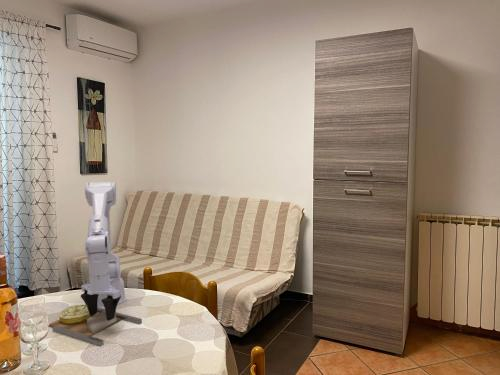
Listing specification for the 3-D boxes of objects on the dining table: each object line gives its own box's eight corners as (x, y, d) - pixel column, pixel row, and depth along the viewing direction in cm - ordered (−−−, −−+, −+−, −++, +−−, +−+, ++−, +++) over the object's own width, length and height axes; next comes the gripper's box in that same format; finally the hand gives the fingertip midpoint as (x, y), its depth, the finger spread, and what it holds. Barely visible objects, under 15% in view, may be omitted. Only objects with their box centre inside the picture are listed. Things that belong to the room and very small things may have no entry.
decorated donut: (96, 311, 127) (95, 300, 126) (93, 324, 117) (93, 312, 116) (62, 315, 124) (62, 304, 123) (57, 329, 113) (56, 317, 113)
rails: (96, 311, 126) (96, 307, 126) (142, 323, 117) (141, 318, 116) (52, 331, 112) (52, 327, 112) (100, 347, 102) (100, 342, 102)
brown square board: (48, 326, 116) (47, 312, 115) (83, 310, 127) (83, 297, 127) (86, 338, 107) (85, 323, 107) (121, 320, 119) (120, 306, 118)
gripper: (71, 274, 112) (74, 317, 113) (105, 281, 105) (108, 327, 106) (91, 267, 118) (94, 308, 119) (124, 274, 111) (126, 317, 112)
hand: (101, 316), depth 113 cm, fingers open, 7 cm apart
